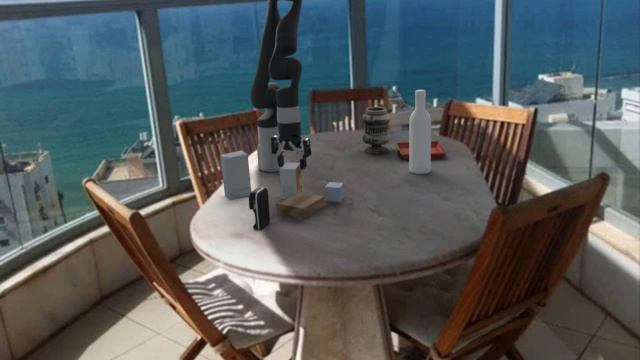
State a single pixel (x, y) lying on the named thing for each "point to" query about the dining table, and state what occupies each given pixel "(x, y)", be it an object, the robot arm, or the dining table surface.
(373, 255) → the dining table surface
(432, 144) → the plant saucer
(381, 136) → the apothecary jar
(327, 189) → the blue-grey cube
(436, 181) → the dining table surface
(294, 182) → the small box
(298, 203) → the walnut slab
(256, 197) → the battery charger
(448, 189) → the dining table surface
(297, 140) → the robot arm
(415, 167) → the bottle
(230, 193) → the skincare box
